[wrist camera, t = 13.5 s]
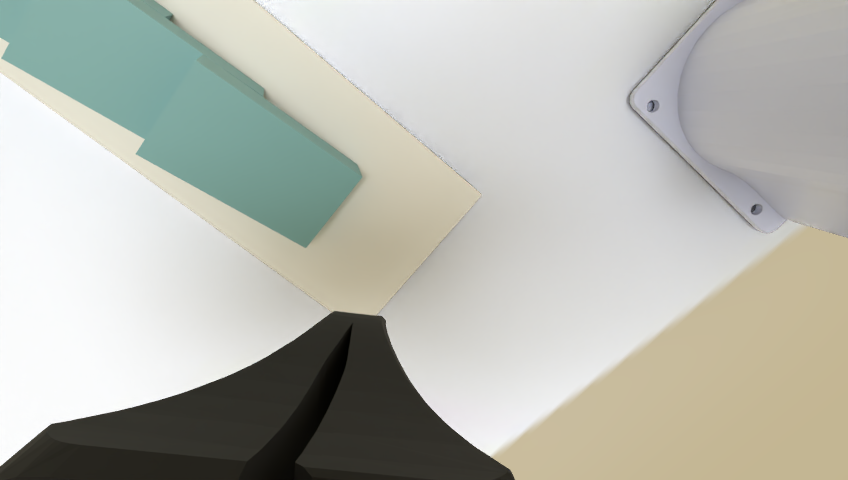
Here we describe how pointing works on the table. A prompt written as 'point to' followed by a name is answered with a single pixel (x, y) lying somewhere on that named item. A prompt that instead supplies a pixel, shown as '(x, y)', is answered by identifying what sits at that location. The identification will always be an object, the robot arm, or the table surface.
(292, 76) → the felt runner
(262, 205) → the teal green rectangular block
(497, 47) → the table surface
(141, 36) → the tile
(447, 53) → the table surface
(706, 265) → the table surface
